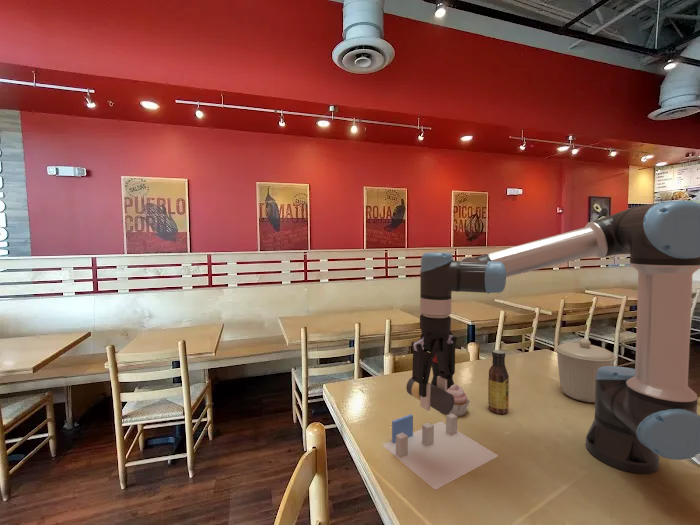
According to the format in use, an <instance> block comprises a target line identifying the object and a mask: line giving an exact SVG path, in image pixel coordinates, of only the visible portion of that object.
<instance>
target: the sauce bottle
mask: <svg viewBox="0 0 700 525" xmlns="http://www.w3.org/2000/svg"><path fill="white" fill-rule="evenodd" d="M491 356H492V362H491V363H492V365H491V367H489V369H488V379H487V380H488V383H487V384H488V393H487V394H488V395H487V396H488V399H487V400H488V402H487V403H488V409H489V411H491V412H492V413H495V414H500V415H503V414H507V413H508V411H509V402H510V400H509V396H510V394H509V393H510V389H509V388H510V387H509V386H510V382H509V380H510V376H509V373H508V369H507V368H506V363H505V362H506V359H505V358H506V352H505V351H504V350H501V349H494V350H492V351H491Z"/></svg>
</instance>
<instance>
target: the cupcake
mask: <svg viewBox="0 0 700 525" xmlns="http://www.w3.org/2000/svg"><path fill="white" fill-rule="evenodd" d="M447 392H448V393H450V394H452V395H453V397H454V406H453V408H452V410H451V411H450V412H449V413H448V414H447V415H449V414H454V415H456V416H457V417H462V416H464V415H465V414H466V412H467V409H468V406H470V402H471V400H469V398H468V395H467V394H466V392H465V390H464V389H463V388H462V387H461V386H460V385H459V384H456V383H454V385H452V386H451V387H450V388H449V389H448V390H447Z"/></svg>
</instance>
